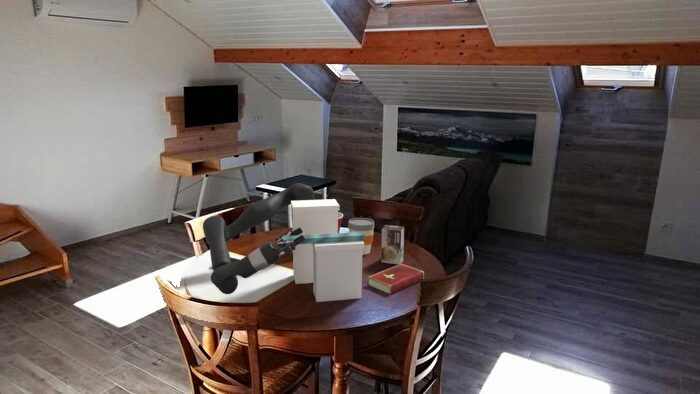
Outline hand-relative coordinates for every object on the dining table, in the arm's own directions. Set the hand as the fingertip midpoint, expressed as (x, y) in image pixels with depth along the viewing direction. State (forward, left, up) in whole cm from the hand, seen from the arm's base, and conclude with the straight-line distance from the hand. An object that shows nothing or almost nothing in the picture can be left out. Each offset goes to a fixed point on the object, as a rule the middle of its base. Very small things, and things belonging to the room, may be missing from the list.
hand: (302, 233), depth 170 cm
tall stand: (-18, -3, -25) cm, 31 cm away
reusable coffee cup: (-54, +6, -26) cm, 60 cm away
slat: (-4, +7, -3) cm, 9 cm away
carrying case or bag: (-16, -41, -26) cm, 51 cm away
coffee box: (-47, +23, -26) cm, 59 cm away
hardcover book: (-25, +30, -26) cm, 47 cm away
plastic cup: (-70, -14, -26) cm, 76 cm away
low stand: (-6, +11, -25) cm, 28 cm away
